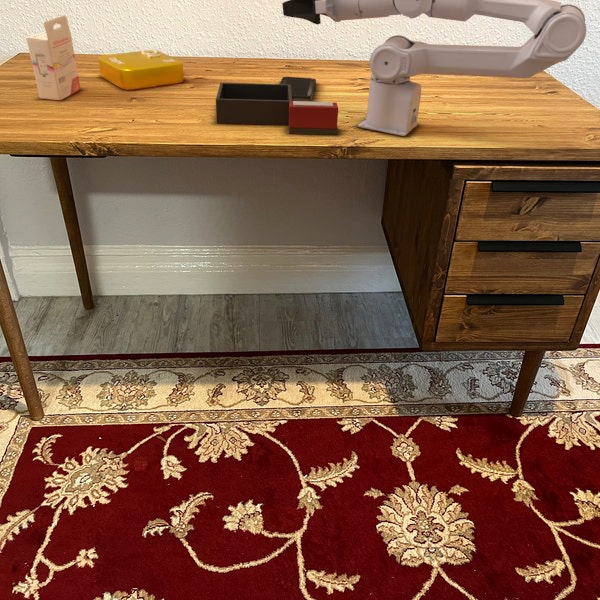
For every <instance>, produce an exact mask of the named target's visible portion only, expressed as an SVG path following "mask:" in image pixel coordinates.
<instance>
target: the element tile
mask: <svg viewBox="0 0 600 600" xmlns="http://www.w3.org/2000/svg"><path fill="white" fill-rule="evenodd" d="M97 59H98V67H99V72H100V73H99V74H100V77H101V78H102V79H105V80H106V81H108V82H110V83H111V84H113V85H115V86H117V87H118V88H120V89H121V90H124V91H125V90H126V91H135V90H141V89H148V88H155V87H161V86H169V85H176V84H181V83H183V82H184V81H185V77H184V75H185V74H184V63H183V61H182V60H180V59H177V58H175V57H173V56H170V55H168V54H165V53H163V52H162V51H159V50H156V49H145V50H140V51H130V52H121V53H111V54H103V55H99V56H98V58H97Z"/></svg>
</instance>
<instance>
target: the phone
mask: <svg viewBox="0 0 600 600" xmlns="http://www.w3.org/2000/svg"><path fill="white" fill-rule="evenodd" d="M279 84H289V85H291V93H292V101H311V102H313V97H314V93H315V90H316V86H317V79H316V78H312V77H299V76H297V77H296V76H282V78H281V80H280V82H279Z"/></svg>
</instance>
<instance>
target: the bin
mask: <svg viewBox="0 0 600 600" xmlns="http://www.w3.org/2000/svg"><path fill="white" fill-rule="evenodd" d="M218 86H219V87H218V90H217V93H216V98H215V112H216V113H215V115H216V124H221V125H222V124H223V125H225V124H226V125H227V124H228V125H263V126H264V125H266V126H267V125H268V126H289V101H292V93H291V85H289V84H280V83H253V82H252V83H248V82H220V83H219V85H218Z"/></svg>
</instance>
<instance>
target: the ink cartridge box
mask: <svg viewBox="0 0 600 600" xmlns="http://www.w3.org/2000/svg"><path fill="white" fill-rule="evenodd" d="M56 24H57V25H60V26H59V27H56V28H54V26H56ZM43 26H44V30H45V31H42V32H39V33H36V34H33V35H30V36H27V37H25V40H26V43H27V47H28V51H29V56H30V60H31V66H32V70H33V74H34V79H35V83H36V87H37V92H38V96H39V99H44V100H52V101H62V100H65V98H67V97H69V96H71V95H73V94H75V93H77V92H78V91H80V90H81V85H80V77H79V72H78V66H77V62H76V57H75V56H76V55H75V50H74V44H73V39H72V33H71V29H70V25H69V22H68V18H67V16H66V14H64V15H61V16H57V17H55V18H51V19H49V20H46V21H43Z"/></svg>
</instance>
